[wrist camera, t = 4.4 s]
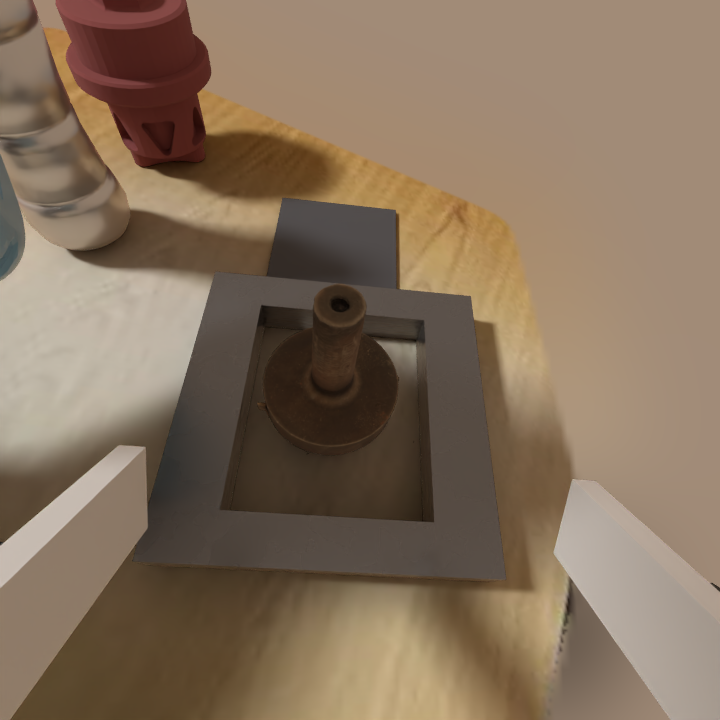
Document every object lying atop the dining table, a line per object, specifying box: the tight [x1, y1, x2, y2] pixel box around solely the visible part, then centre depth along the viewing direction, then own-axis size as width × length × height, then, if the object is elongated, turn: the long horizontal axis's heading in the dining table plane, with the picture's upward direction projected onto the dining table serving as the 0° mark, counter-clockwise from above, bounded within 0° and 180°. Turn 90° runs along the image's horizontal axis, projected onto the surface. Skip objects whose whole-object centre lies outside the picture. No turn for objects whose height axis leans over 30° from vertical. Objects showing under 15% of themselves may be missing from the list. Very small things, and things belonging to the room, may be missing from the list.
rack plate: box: [132, 272, 506, 582], centre depth 26 cm, size 18×18×2 cm
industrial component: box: [257, 284, 414, 455], centre depth 21 cm, size 9×7×12 cm
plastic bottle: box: [0, 0, 130, 251], centre depth 24 cm, size 6×7×20 cm
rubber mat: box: [267, 198, 396, 289], centre depth 34 cm, size 10×10×1 cm
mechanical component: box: [56, 0, 211, 167], centre depth 33 cm, size 12×10×10 cm
